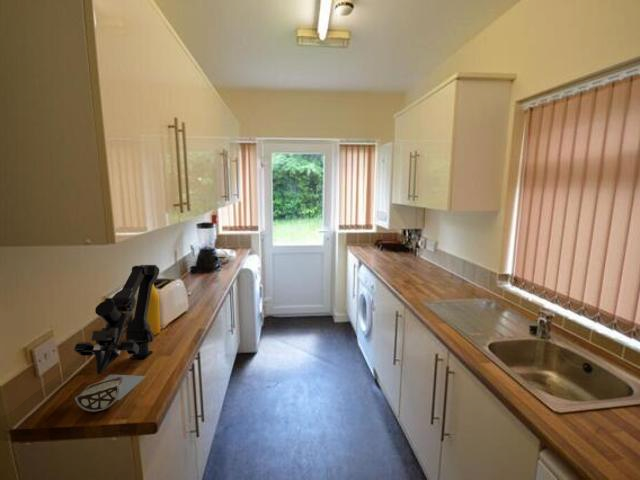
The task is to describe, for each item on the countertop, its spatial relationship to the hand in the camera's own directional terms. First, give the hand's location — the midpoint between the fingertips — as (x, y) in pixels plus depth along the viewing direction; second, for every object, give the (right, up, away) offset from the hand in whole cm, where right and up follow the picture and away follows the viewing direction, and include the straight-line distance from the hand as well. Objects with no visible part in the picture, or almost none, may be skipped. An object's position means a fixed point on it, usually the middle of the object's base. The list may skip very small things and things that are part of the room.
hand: (99, 374), depth 109 cm
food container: (+1, -6, +3) cm, 7 cm away
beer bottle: (-11, -2, +55) cm, 57 cm away
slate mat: (0, -8, +8) cm, 11 cm away
